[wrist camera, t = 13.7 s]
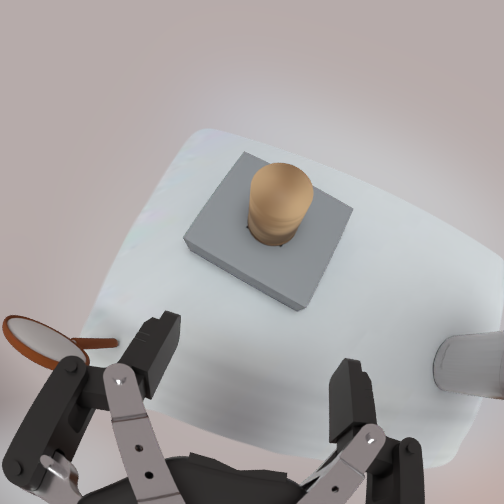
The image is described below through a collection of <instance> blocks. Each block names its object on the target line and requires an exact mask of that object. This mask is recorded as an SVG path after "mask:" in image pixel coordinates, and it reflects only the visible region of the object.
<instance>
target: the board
mask: <svg viewBox="0 0 504 504" xmlns="http://www.w3.org/2000/svg"><path fill="white" fill-rule="evenodd" d="M269 164H270V163H268V162H266V161H263V160H261V159H259V158H257V157H255V156H253V155H251V154H249V153H247V152H245V151H244V152H243V154H242V155H241V156H240V158H239V159H238V160H237V162H236V163H235V164H234V166H233V167H232V168H231V170H230V171H229V172H228V174H227V175H226V176H225V178H224V179H223V181H222V182H221V183H220V185H219V186H218V187H217V189H216V190H215V192H214V193H213V194H212V196H211V197H210V199H209V200H208V202H207V203H206V204H205V206H204V207H203V209H202V210H201V212H200V213H199V214H198V216H197V217H196V219H195V220H194V222H193V223H192V225H191V226H190V228H189V229H188V231H187V232H186V233H185V235H184V236H183V239H184V240H185V242H186V244H187V246H188V247H189V249H190V250H191V251H193V252H194V253H196V254H198V255H199V256H201V257H203V258H204V259H206V260H208V261H210V262H211V263H213V264H215V265H216V266H218V267H220V268H221V269H223V270H225V271H227V272H228V273H230V274H232V275H234V276H235V277H237V278H239V279H241V280H242V281H244V282H246V283H248V284H249V285H251V286H253V287H255V288H256V289H258V290H260V291H262V292H263V293H265V294H267V295H269V296H271V297H272V298H274V299H276V300H278V301H279V302H281V303H283V304H285V305H287V306H288V307H290V308H292V309H294V310H296V311H299V310H302V309H304V308H306V307H307V305H308V303H309V301H310V300H311V298H312V296H313V294H314V292H315V290H316V288H317V286H318V284H319V282H320V280H321V278H322V276H323V274H324V272H325V270H326V268H327V266H328V263H329V261H330V259H331V257H332V255H333V253H334V251H335V249H336V247H337V244H338V242H339V240H340V238H341V236H342V234H343V231H344V229H345V227H346V225H347V222H348V220H349V218H350V216H351V213H352V211H353V208H351V207H349V206H348V205H346V204H344V203H343V202H341V201H339V200H337V199H336V198H334V197H332V196H330V195H329V194H327V193H325V192H323V191H321V190H320V189H318V188H316V187H314V186H313V200H312V202H311V204H310V206H309V208H308V210H307V212H306V214H305V216H304V218H303V219H302V221H301V223H300V225H299V227H298V229H297V231H296V233H295V235H294V237H293V238H292V239H291V240H290V241H289V242H287V243H285V244H283V245H282V247H280V246H267V245H264V244H262V243H260V242H258V241H257V240H256V239H255V238H254V237H253V236H252V235H251V233H250V231H249V229H248V223H247V221H248V213H249V201H250V188H251V181H252V179H253V177H254V175H255V174H256V172H257V171H258V170H260V169H261V168H262V167H264V166H266V165H269Z"/></svg>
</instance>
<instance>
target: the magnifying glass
mask: <svg viewBox="0 0 504 504" xmlns="http://www.w3.org/2000/svg"><path fill="white" fill-rule="evenodd" d="M2 328H3V333H4V335H5V337H6V339H7V340H8V342H9V343H10V344H11V345H12V346H13V347H14V348H15V349H16V350H18V351H19V352H20V353H21V354H22V355H24V356H25V357H27V358H28V359H30V360H31V361H33V362H35V363H37V364H39V365H41V366H43V367H45V368H48V369H51V370H54V369H55V367H56V366H57V364H58V363H59V361H60V360H61V359H62V358H64V357H66V356H71V355H73V356H78V357H80V358H81V359H82V360H83V361H84V362H85V364H86V365H88V366H89V364H90V359H89V356H88V355H87V353H86V352H85V351H84V350H83V349H99V348H114V347H117V345H118V344H119V342H118V341H117V340H116V339H114V338H71V339H70V338H68V337H66V336H65V335H63V334H62V333H60V332H58V331H56V330H55V329H53V328H51V327H49V326H47V325H45V324H42V323H40V322H38V321H35V320H33V319H30V318H27V317H23V316H18V315H10V316H8V317H6V318H5V319H4V322H3V326H2Z"/></svg>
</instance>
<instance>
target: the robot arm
mask: <svg viewBox="0 0 504 504" xmlns="http://www.w3.org/2000/svg"><path fill="white" fill-rule="evenodd" d="M180 324H181V315H178V314H175V313H172V312H169V311H165V312H164V313H163V314H162V316H161V318H160V319H156V318H153V317H152V318H151V319H149V320H147V321H146V322H144V323H143V325H142V326H141V328H140V329H139V332H137V334H136V336H135V338H134V339H133V340H132V342H131V343H130V345H129V346H128V348H127V349H126V351H125V352H124V354H123V356H122V357H121V359H120V360H119V361H118V362H117V363H116V364H112V365H110V366H108V367H107V368H100V367H94V366H88V365H86V364H85V362H84V361H83V360H82V359H81V358H80V357H78V356H73V355H71V356H66V357H64V358H62V359H61V360H60V361H59V363H58V364H57V366H56V367H55V369H54V370H53V372H52V374H51V375H50V377H49V378H48V380H47V382H46V383H45V384H44V386H43V388H42V389H41V391H40V393H39V394H38V396H37V398H36V399H35V401H34V402H33V404H32V406H31V408H30V409H29V411H28V413H27V415H26V416H25V418H24V420H23V422H22V423H21V425H20V427H19V429H18V431H17V433H16V435H15V436H14V438H13V440H12V442H11V444H10V446H9V448H8V450H7V453H6V454H5V457H4V459H3V462H2V468H3V472H4V474H5V476H6V477H7V479H8V480H9V481H10V482H12V483H13V484H15V485H17V486H19V487H20V488H22V489H23V490H25V491H27V492H29V493H31V494H33V495H36V496H38V497H40V498H42V499H43V500H45V501H46V502H48V503H49V504H345V503H346V502H347V500H348V499H349V498H350V497H351V496H352V494H353V493H354V492H355V491H356V489H357V488H358V487H359V485H360V484H361V483H362V481H363V480H364V478H365V476H364V472H367V490H366V504H425V494H424V493H425V492H424V472H423V459H422V449H421V445H420V444H419V442H418V441H417V440H416V439H414V438H411V437H408V438H405V439H403V440H402V441H398V440H395V439H392V438H389V437H387V436H385V433H384V431H383V429H382V428H381V427H380V426H378V425H377V420H376V412H375V404H374V399H373V391H372V383H371V380H370V378H369V376H368V374H367V373H366V372H362V368H361V363H360V361H359V360H353V359H348V358H345V359H343V361H342V362H341V364H340V365H339V367H338V368H337V370H336V371H335V372H334V374H333V375H332V377H331V379H330V383H329V443H337V449H335V450H334V451H333V453H332V454H331V455H330V456H329V457H328V458H327V459H326V460H325V461H324V462H323V463H322V464H321V466H320V467H319V468H318V469H317V470H316V471H315V472H314V473H313V474H312V475H310V476H309V477H308V478H307V479H305V480H304V481H303V482H302V483H301V484H300V485H299V484H297V483H296V482H294V481H292V480H290V479H288V478H287V473H284V472H275V471H270V470H242V471H240V470H236V469H234V468H231V467H230V466H227V465H225V464H223V463H221V462H219V461H217V460H215V459H212V458H208V457H205V456H201V455H198V454H194V453H191V452H190V455H189V457H187V456H177V457H170V458H166V459H164V457H163V455H162V452H161V450H160V447H159V444H158V442H157V439H156V437H155V434H154V431H153V428H152V426H151V423H150V420H149V417H148V415H147V413H146V410H145V407H144V404H143V400H144V398H145V397H146V398H148V399H152V397H153V395H154V393H155V391H156V389H157V387H158V385H159V383H160V381H161V379H162V376H163V374H164V372H165V370H166V368H167V366H168V364H169V362H170V360H171V358H172V356H173V354H174V352H175V350H176V348H177V345H178V342H179V337H180ZM433 373H434V379H435V382H436V384H437V386H438V387H439V388H440V389H441V390H444V391H448V392H453V393H459V394H465V395H471V396H478V397H485V398H493V399H502V400H504V331H497V332H489V333H480V334H469V335H459V336H452V337H449V338H448V339H447V340H445V341H444V343H443V344H442V345H441V347H440V348H439V350H438V352H437V354H436V358H435V361H434V372H433ZM96 409H100V410H106V411H110V413H111V417H112V420H111V421H112V426H113V430H114V434H115V438H116V441H117V444H118V448H119V451H120V454H121V458H122V461H123V464H124V467H125V469H126V472H127V475H128V477H126V478H124V479H122V480H120V481H117V482H115V483H113V484H110V485H108V486H106V487H103V488H101V489H98V490H96V491H93V492H90V493H88V494H86V495H84V496H82V495H81V493H80V492H79V489H78V486H77V485H78V472H77V470H76V468H75V467H74V465H73V464H72V463H71V461H72V459H73V457H74V455H75V452H76V450H77V448H78V445H79V443H80V441H81V439H82V437H83V435H84V433H85V430H86V428H87V426H88V424H89V422H90V420H91V418H92V416H93V414H94V412H95V410H96Z"/></svg>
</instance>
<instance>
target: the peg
mask: <svg viewBox="0 0 504 504" xmlns="http://www.w3.org/2000/svg"><path fill="white" fill-rule="evenodd" d="M312 200H313V186H312V183H311V181H310V179H309V178H308V176H307V175H306V174H305V173H304V172H303V171H302V170H300V169H299V168H297V167H295V166H293V165H290V164H286V163H273V164H269V165H266V166H264V167H262V168H261V169H260V170H258V171H257V172H256V174H255V175H254V177H253V179H252V181H251V188H250V201H249V213H248V221H247V223H248V229H249V231H250V233H251V235H252V236H253V237H254V238H255V239H256V240H257V241H258V242H260V243H262V244H264V245H267V246H280V245H283V244H285V243H287V242H289V241H290V240H291V239H292V238H293V237H294V235H295V233H296V231H297V229H298V227H299V225H300V223H301V221H302V219H303V218H304V216H305V214H306V212H307V210H308V208H309V206H310V204H311V202H312Z"/></svg>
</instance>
